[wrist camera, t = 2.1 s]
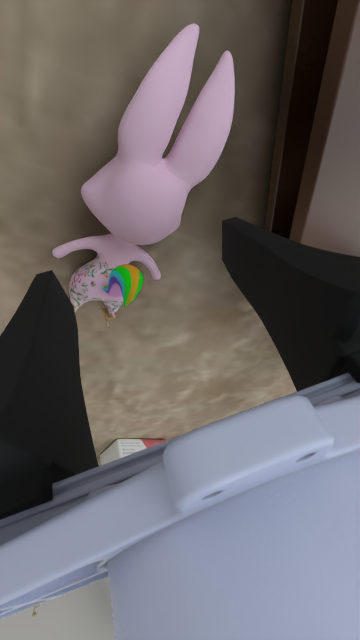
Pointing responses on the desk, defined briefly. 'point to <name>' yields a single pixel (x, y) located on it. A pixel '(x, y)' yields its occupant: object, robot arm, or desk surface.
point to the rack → (319, 130)
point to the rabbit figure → (151, 173)
